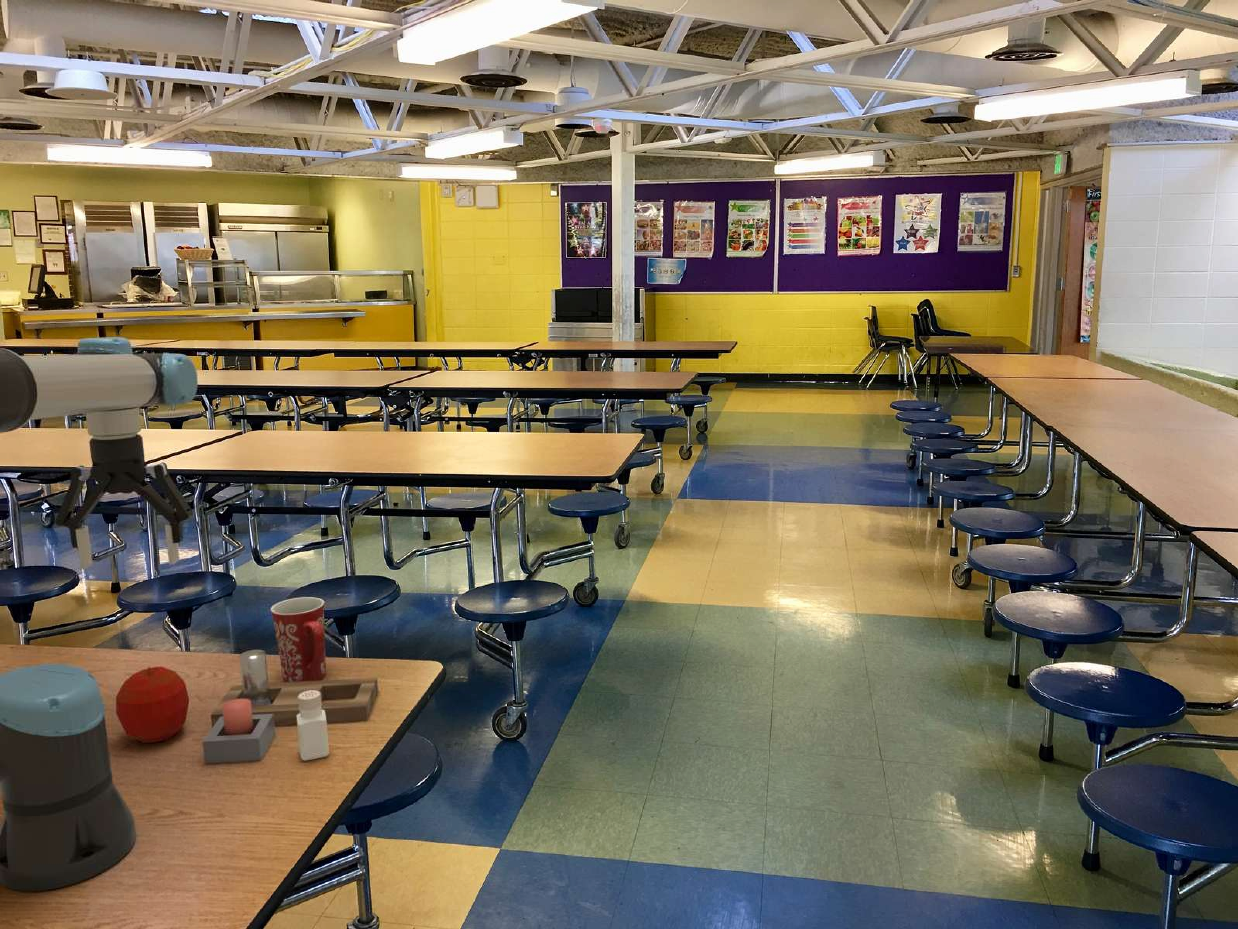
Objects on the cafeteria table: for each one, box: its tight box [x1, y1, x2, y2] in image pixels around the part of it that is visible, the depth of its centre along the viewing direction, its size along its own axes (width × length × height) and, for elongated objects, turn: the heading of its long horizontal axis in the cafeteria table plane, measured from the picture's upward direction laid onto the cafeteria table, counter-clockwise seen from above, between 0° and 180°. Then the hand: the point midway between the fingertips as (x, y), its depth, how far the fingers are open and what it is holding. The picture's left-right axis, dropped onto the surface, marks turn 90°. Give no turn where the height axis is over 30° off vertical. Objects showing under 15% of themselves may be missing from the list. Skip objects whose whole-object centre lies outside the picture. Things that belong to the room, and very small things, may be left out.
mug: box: [270, 596, 327, 683], centre depth 166 cm, size 13×9×14 cm
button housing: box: [202, 714, 276, 765], centre depth 143 cm, size 8×8×4 cm
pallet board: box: [210, 677, 379, 729], centre depth 155 cm, size 11×24×2 cm, turn 95°
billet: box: [238, 649, 272, 706], centre depth 154 cm, size 4×4×10 cm
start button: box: [222, 699, 254, 736], centre depth 142 cm, size 4×4×5 cm
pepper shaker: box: [296, 690, 330, 761], centre depth 140 cm, size 4×4×10 cm
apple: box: [115, 666, 190, 744], centre depth 146 cm, size 10×10×12 cm
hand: (130, 564), depth 154 cm, fingers open, 13 cm apart
